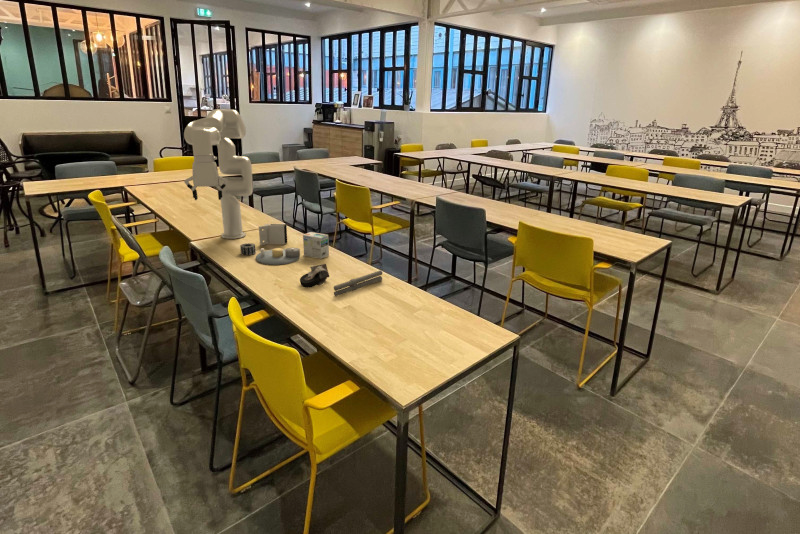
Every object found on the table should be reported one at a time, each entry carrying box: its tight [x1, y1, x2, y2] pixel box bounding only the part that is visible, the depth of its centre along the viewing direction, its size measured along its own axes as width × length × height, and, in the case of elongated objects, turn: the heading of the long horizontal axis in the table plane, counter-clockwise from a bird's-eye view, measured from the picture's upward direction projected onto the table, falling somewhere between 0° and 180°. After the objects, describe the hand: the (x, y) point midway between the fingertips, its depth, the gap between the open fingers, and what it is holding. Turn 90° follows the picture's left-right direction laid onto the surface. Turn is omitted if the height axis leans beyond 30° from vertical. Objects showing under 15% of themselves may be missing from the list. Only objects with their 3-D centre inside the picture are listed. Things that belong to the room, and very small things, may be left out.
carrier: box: [255, 247, 301, 266], centre depth 219 cm, size 20×20×4 cm
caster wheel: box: [299, 263, 330, 289], centre depth 191 cm, size 7×11×10 cm
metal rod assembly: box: [333, 269, 383, 297], centre depth 189 cm, size 26×3×5 cm, turn 137°
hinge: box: [258, 223, 288, 246], centre depth 239 cm, size 14×5×10 cm, turn 106°
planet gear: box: [239, 242, 257, 256], centre depth 224 cm, size 7×7×4 cm
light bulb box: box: [302, 231, 330, 260], centre depth 223 cm, size 11×7×11 cm, turn 65°
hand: (208, 199), depth 199 cm, fingers open, 9 cm apart
